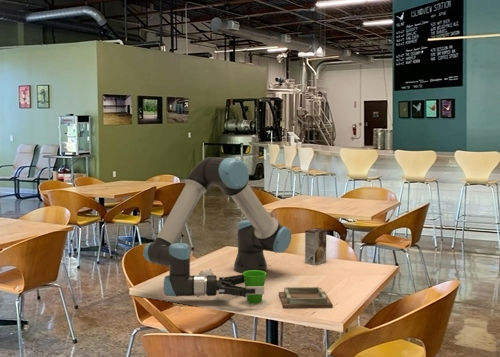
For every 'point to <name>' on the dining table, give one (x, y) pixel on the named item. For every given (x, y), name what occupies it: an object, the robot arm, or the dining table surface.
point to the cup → (254, 284)
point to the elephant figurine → (206, 272)
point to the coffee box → (315, 246)
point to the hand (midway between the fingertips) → (262, 284)
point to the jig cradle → (304, 298)
